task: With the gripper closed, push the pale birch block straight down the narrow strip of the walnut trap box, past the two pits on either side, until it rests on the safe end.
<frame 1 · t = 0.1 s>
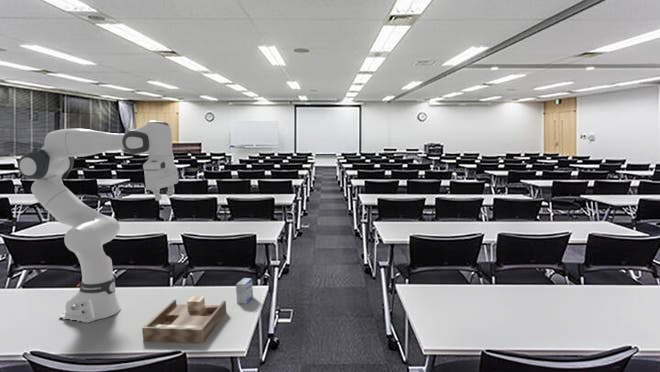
hand: (164, 198, 171), 48 cm above the table, tool pointing down, fingers open, 8 cm apart
trap box: (188, 325, 168), on the table
block: (196, 308, 176), point 3 cm above the table, touching trap box
medicine box: (245, 300, 191), on the table
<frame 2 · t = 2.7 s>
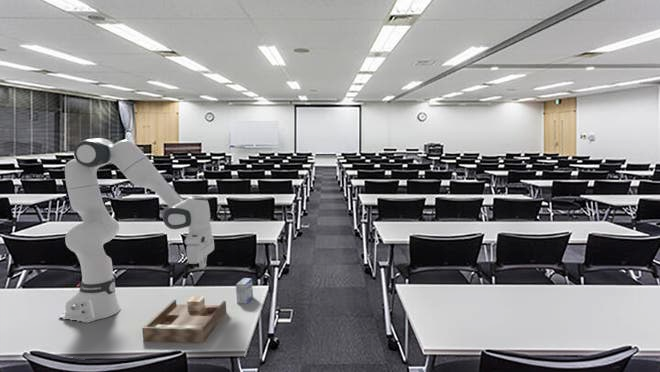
hand: (202, 267, 182), 17 cm above the table, tool pointing down, fingers closed
nothing on the table moved.
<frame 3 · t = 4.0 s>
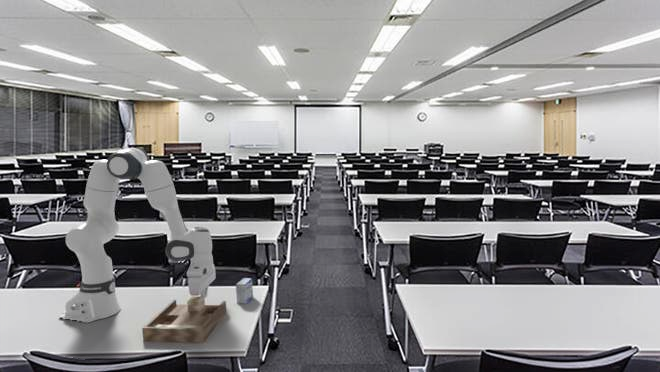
hand: (204, 297, 184), 4 cm above the table, tool pointing down, fingers closed
nothing on the table moved.
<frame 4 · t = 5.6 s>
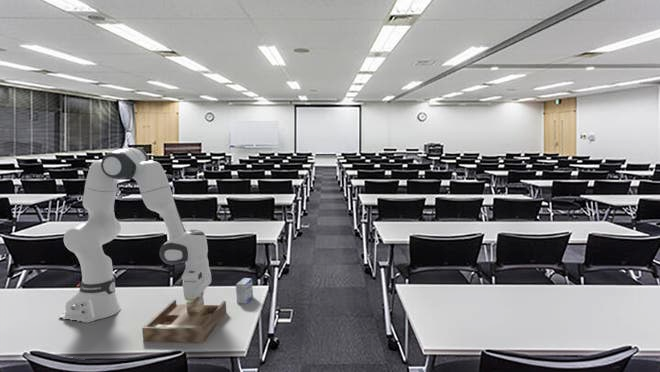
hand: (199, 302, 179), 4 cm above the table, tool pointing down, fingers closed
block: (195, 309, 175), point 3 cm above the table, touching gripper, trap box
everything else where it was.
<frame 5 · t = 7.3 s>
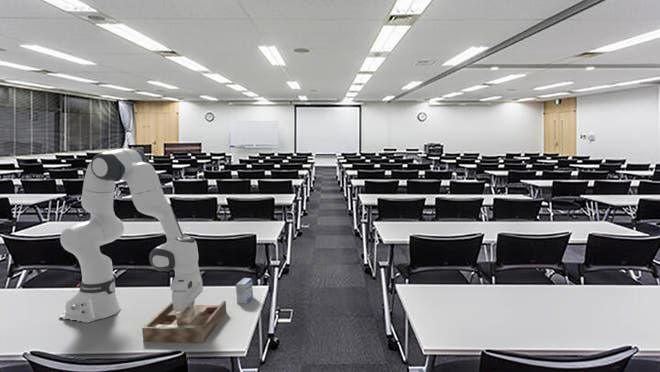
hand: (190, 312, 170), 4 cm above the table, tool pointing down, fingers closed
block: (185, 320, 165), point 3 cm above the table, touching gripper
everything else where it was.
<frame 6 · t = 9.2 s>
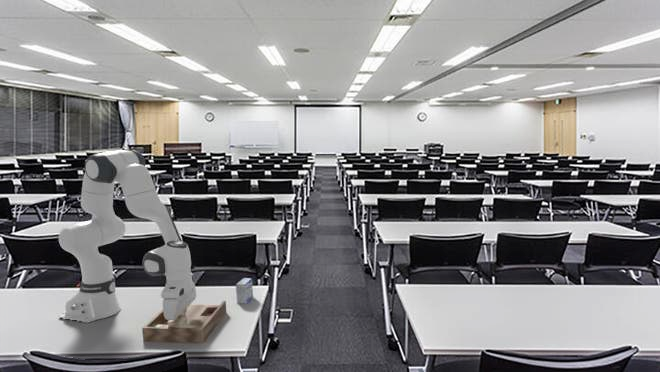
hand: (182, 320, 163), 4 cm above the table, tool pointing down, fingers closed
block: (178, 329, 158), point 3 cm above the table, touching gripper, trap box
everything else where it was.
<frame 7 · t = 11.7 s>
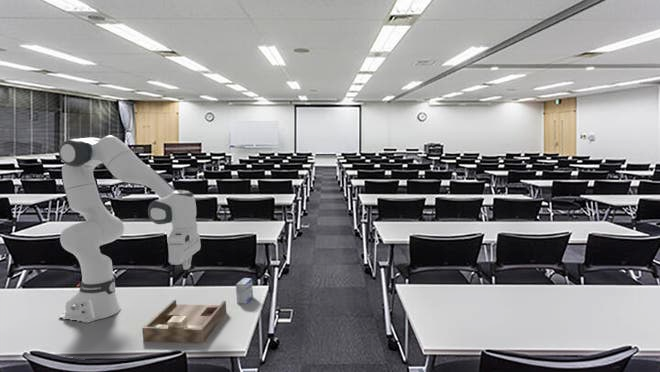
hand: (187, 268, 168), 22 cm above the table, tool pointing down, fingers closed
block: (177, 329, 158), point 3 cm above the table, touching trap box
everything else where it was.
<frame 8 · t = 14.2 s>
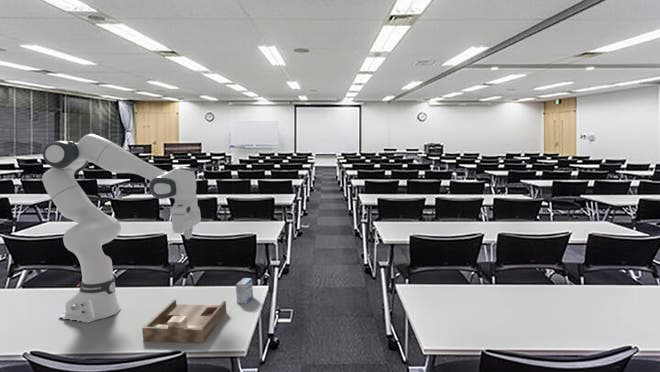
hand: (188, 238, 183), 29 cm above the table, tool pointing down, fingers closed
nothing on the table moved.
at the end: block inside the target area on the trap box (1.0 cm from its centre), point 3.0 cm above the trap box's base; block tilted 0° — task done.
